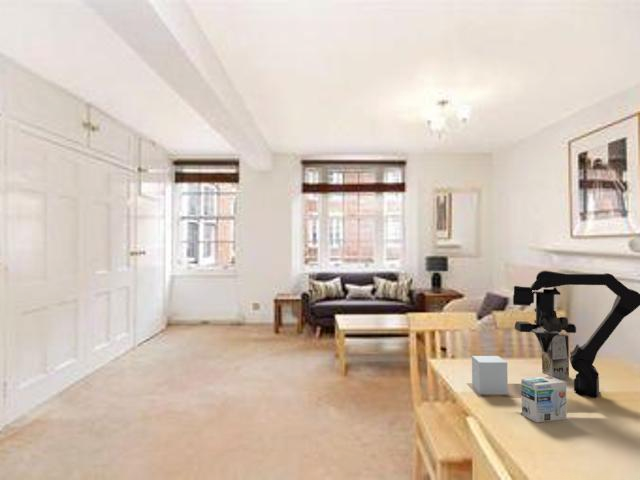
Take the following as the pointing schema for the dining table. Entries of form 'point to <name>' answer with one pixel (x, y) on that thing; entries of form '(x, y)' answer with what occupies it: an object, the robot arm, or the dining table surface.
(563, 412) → the light bulb box
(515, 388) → the podium board
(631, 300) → the robot arm
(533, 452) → the dining table surface
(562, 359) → the coffee box
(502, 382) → the carton
